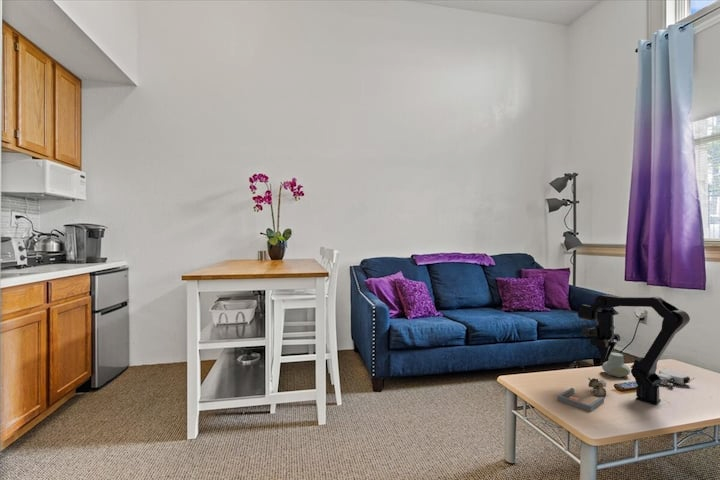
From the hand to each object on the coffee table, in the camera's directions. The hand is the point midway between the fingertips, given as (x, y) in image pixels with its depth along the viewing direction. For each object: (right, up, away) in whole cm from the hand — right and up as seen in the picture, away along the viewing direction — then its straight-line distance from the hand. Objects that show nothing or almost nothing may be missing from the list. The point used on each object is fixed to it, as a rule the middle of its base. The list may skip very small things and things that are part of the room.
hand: (604, 358), depth 160 cm
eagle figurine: (-8, -12, -7) cm, 16 cm away
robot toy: (+32, -13, +4) cm, 35 cm away
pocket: (-20, -12, -15) cm, 28 cm away
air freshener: (+15, -12, +14) cm, 24 cm away
